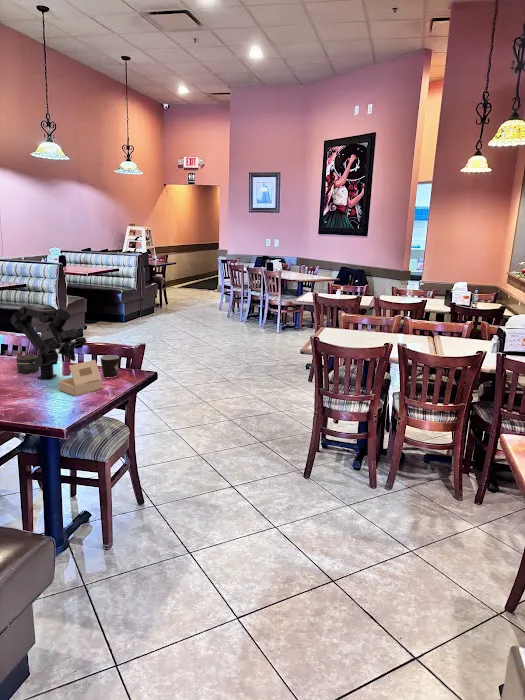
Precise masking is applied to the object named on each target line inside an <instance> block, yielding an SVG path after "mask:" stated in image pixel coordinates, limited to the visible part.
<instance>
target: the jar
mask: <svg viewBox="0 0 525 700" xmlns="http://www.w3.org/2000/svg"><path fill="white" fill-rule="evenodd" d="M36 359H37V355H36V354H22V355H19V356H17V357H16V359H15V363H16V370H17V373H19V374H20V373H23V374H22V375H30V374H29V373H32V374H36V373H37V372H38V371H39V368H40V367H38V366H36V365H35V360H36ZM35 372H36V373H35Z"/></svg>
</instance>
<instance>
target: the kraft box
mask: <svg viewBox="0 0 525 700" xmlns="http://www.w3.org/2000/svg"><path fill="white" fill-rule="evenodd" d="M58 385H59V389H58V390H59V391H61V392H63V393H66V394H69V395H72V396H73V397H74V396H75V397H77V396H81V395H84V394H89V393H91V391H92V392H95V390H96V391H99V390H102V389H101V388H103V387H104V386H103V378H101V379H98V380H94V381H90V382H86V383H82V384H79V385H75V383H74V380H73V377H70V378H65V379H62V380H61V379H60V380H59V382H58ZM98 389H99V390H98ZM88 392H89V393H88Z"/></svg>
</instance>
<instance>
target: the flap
mask: <svg viewBox="0 0 525 700" xmlns="http://www.w3.org/2000/svg"><path fill="white" fill-rule="evenodd" d="M68 368H69V370H70V374H71V378H73V380H74V383H75V385H79V384H82V383H86V382H90V381H94V380H98V379H102V376H101V373H100V370H99V367H98V364H97V361H96V359H91V360H89V361H84V362H78V363H75V364H70V365H68Z"/></svg>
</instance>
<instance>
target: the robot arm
mask: <svg viewBox="0 0 525 700" xmlns="http://www.w3.org/2000/svg"><path fill="white" fill-rule="evenodd" d="M33 318H35V319H38V321H40V323H42V324H47V327H46V332H50V334H51V336H52V337H53V338H52V340H53V342H48V343H47V344H46V343H45V341H44V340H43V338H42V337H41V335H40V334H39V333H38V332H37V330H36V329H35V328H34V327H33V325H32V324H33ZM70 319H71V314H70V312H68V311H67V310H64V309H63V308H61V307H60V308H57V309H42V308H39V307H34V306H32V305H22V306H20V308H19V309H18V310H17V311H16V312H14V313H13V314H12V317H11V318H10V322H11V324H12V326H14V328H15V329H17V330H18V331H21V332H23V334H24V335H25V336H26V338H27V339H28V341H29V343H30V344H31V345H32V346H33V348H34V349H35V350H36V351H37V352H36V354H37V355H36V356H37V359H36V360H35V365H36V366H38V367H39V368H40V369H39V370H40V375H39V376H38V377H37V379H38V380H40V379H41V380H52V379H53V378H55V377H57V374H54V366H55V365H58V361H59V355H62V356H65V358H67V359H69V360H70V361H72V362H75V361H76V353H75V350H78V349H81V348H83V347H84V346H85V344H86V343H87V339H86V337H84V336H80V337H77V335H78V334H79V330H78V328H77V327H73V328H71V329H67V330H65V328H64V327H65V326H66V325H67V323H68V322H69V321H70ZM74 337H76V338H75V340H74V341H73V339H74ZM57 350H58V352H57Z"/></svg>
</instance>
